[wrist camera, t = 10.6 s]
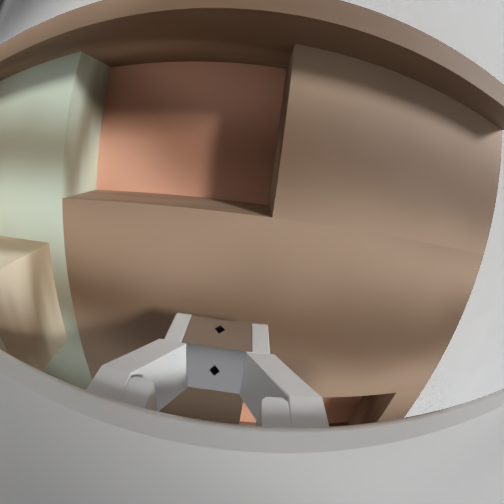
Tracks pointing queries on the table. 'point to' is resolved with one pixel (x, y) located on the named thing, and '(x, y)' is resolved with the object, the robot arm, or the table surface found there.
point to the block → (29, 303)
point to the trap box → (253, 187)
